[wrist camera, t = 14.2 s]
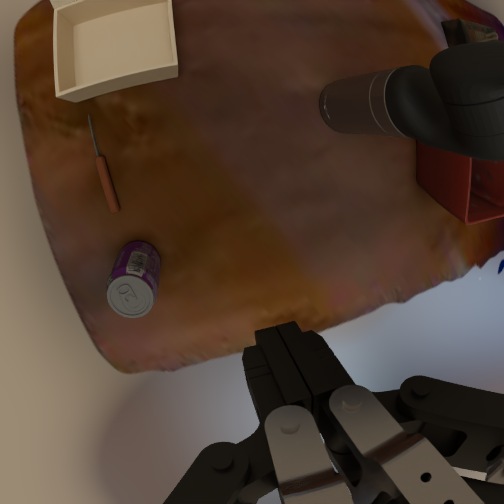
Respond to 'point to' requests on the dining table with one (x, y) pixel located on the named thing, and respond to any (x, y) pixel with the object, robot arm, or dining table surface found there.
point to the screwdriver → (105, 177)
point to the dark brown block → (467, 32)
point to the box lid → (60, 2)
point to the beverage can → (134, 280)
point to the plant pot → (462, 183)
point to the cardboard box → (112, 46)
